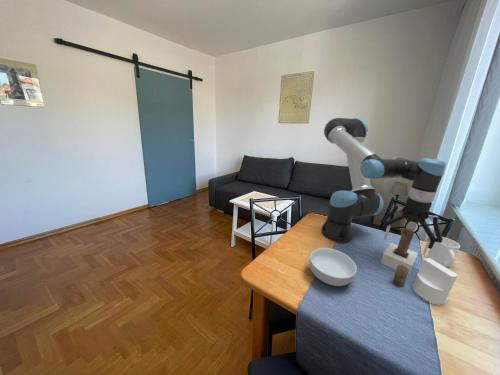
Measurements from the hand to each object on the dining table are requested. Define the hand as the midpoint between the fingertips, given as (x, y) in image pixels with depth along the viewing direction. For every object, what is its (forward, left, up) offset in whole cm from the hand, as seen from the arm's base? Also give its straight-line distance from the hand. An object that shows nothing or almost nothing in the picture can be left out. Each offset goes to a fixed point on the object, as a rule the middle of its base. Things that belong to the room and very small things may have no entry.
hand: (403, 245), depth 85 cm
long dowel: (0, 0, -9) cm, 9 cm away
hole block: (0, 0, -9) cm, 9 cm away
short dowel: (+3, -14, -9) cm, 17 cm away
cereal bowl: (-16, -30, -9) cm, 35 cm away
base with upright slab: (+12, -11, -9) cm, 18 cm away
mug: (+13, +14, -9) cm, 21 cm away
